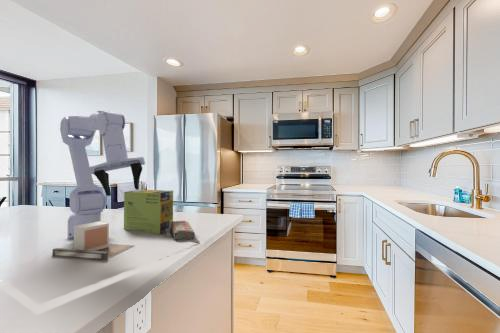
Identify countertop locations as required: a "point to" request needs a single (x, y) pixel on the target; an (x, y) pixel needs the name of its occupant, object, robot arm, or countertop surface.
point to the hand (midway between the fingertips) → (123, 192)
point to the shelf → (92, 252)
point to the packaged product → (181, 232)
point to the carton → (91, 236)
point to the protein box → (148, 210)
